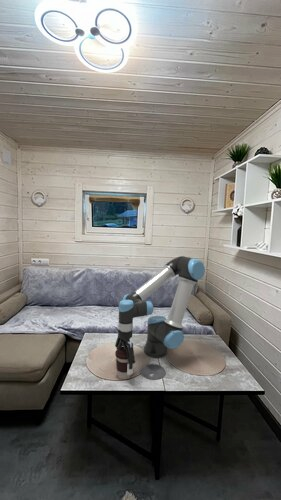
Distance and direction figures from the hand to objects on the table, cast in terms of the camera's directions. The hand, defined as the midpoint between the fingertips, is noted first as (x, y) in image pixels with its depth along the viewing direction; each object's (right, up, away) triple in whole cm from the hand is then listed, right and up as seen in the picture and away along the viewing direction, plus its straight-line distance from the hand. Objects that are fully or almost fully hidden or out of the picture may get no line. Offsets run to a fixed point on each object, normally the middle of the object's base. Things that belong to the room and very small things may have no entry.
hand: (124, 367), depth 134 cm
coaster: (+16, -5, +5) cm, 17 cm away
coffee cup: (0, -5, +1) cm, 5 cm away
